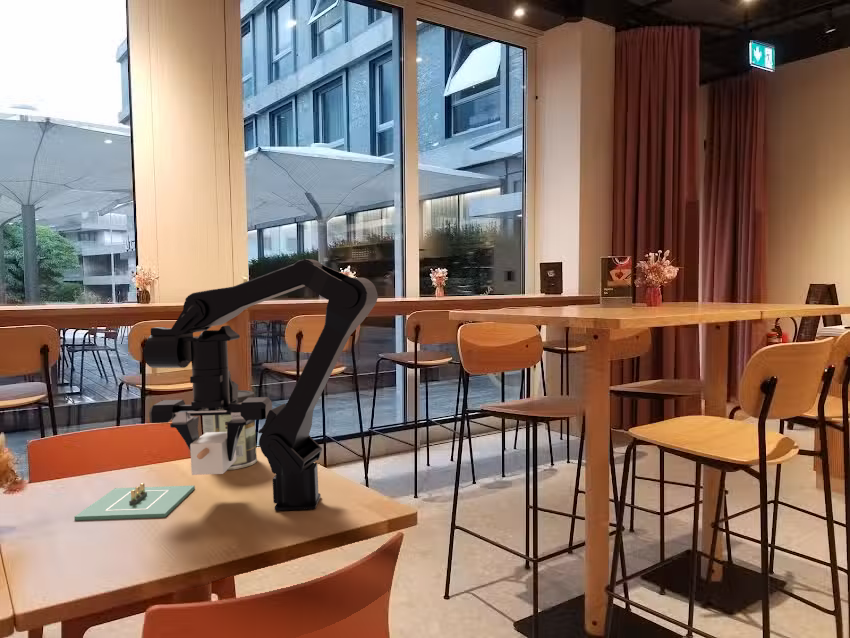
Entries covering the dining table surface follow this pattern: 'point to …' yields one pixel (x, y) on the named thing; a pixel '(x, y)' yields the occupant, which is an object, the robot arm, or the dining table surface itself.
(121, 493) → the pin board
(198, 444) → the block
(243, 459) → the coffee can
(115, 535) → the dining table surface
